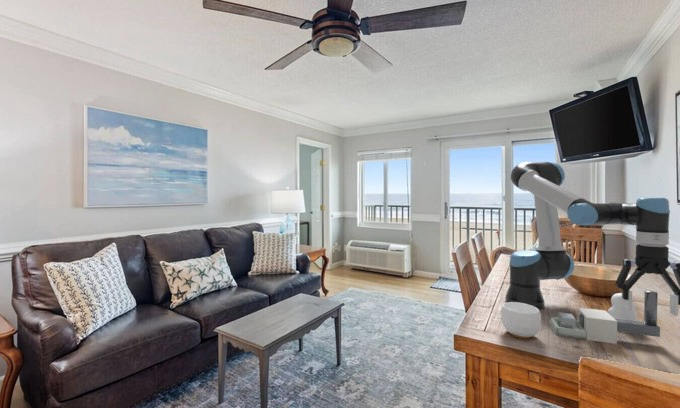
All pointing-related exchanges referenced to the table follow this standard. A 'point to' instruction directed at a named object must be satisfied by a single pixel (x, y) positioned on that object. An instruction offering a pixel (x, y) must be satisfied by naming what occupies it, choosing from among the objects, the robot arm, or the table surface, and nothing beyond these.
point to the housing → (598, 325)
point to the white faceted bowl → (521, 319)
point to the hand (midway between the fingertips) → (650, 311)
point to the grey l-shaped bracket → (637, 327)
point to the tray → (567, 330)
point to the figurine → (621, 309)
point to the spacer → (566, 320)
